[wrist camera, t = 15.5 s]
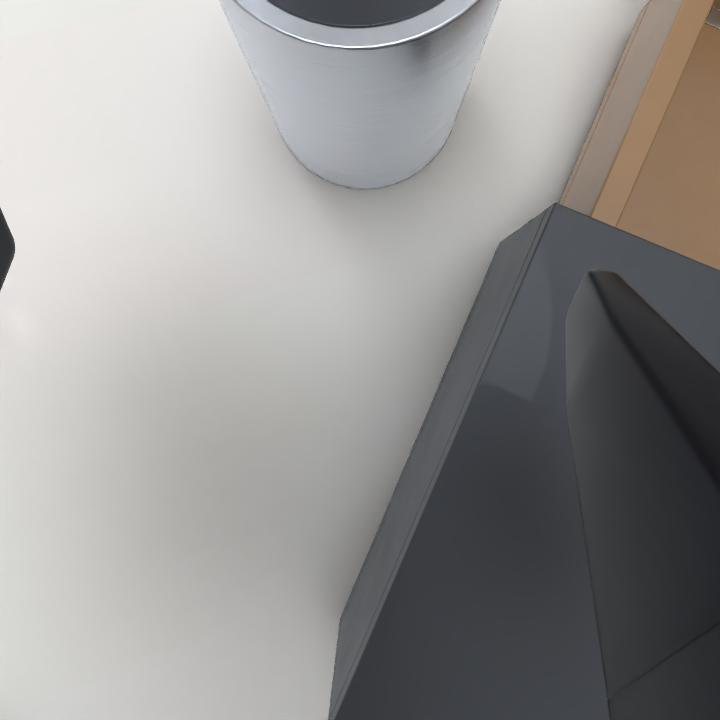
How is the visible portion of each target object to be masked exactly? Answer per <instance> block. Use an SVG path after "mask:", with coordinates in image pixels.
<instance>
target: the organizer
mask: <svg viewBox="0 0 720 720" xmlns="http://www.w3.org/2000/svg"><path fill="white" fill-rule="evenodd" d="M589 270H601V271H609V272H615V273H617V274H618V275H619V276H620V277H621V278H622V279H623V280H624V281H625V282H626V283H627V284H629V285H630V286H631V287H632V288H633V289H634V290H635V291H636V292H637V293H638V294H639V295H640V296H641V297H642V298H643V299H644V300H645V301H646V302H647V303H648V304H649V305H650V306H651V307H652V308H653V309H654V310H655V311H657V312H658V313H659V314H660V315H661V316H662V317H663V318H664V319H665V320H666V321H667V322H668V323H669V324H670V325H671V326H672V327H673V328H674V329H675V330H676V331H677V332H678V333H679V334H680V335H681V336H682V337H683V338H685V339H686V340H687V341H688V342H689V343H690V344H691V345H692V346H693V347H694V348H695V349H696V350H697V351H698V352H699V353H700V354H701V355H702V356H703V357H704V358H705V359H706V360H707V361H708V362H709V363H710V364H711V365H712V366H714V367H715V368H716V369H717V370H718V371H719V372H720V270H717V269H715V268H713V267H710V266H708V265H705V264H703V263H701V262H698V261H696V260H693V259H691V258H689V257H686V256H684V255H681V254H679V253H676V252H674V251H672V250H669V249H667V248H664V247H662V246H660V245H657V244H655V243H652V242H650V241H648V240H645V239H643V238H640V237H638V236H635V235H633V234H631V233H628V232H626V231H623V230H621V229H619V228H616V227H614V226H611V225H609V224H606V223H604V222H602V221H599V220H597V219H594V218H592V217H590V216H587V215H585V214H582V213H580V212H578V211H575V210H573V209H570V208H568V207H565V206H563V205H561V204H558V203H555V204H553V205H552V206H551V207H549V208H547V209H546V210H545V211H543V212H542V213H541V214H539V215H538V216H536V217H535V218H534V219H532V220H531V221H529V222H528V223H527V224H525V225H524V226H523V227H521V228H520V229H518V230H517V231H516V232H514V233H513V234H512V235H510V236H509V237H507V238H506V239H505V240H503V241H502V242H500V243H499V245H498V248H497V250H496V252H495V255H494V257H493V259H492V262H491V264H490V267H489V269H488V271H487V274H486V276H485V278H484V281H483V283H482V285H481V288H480V290H479V293H478V295H477V297H476V300H475V302H474V304H473V307H472V309H471V311H470V314H469V316H468V318H467V321H466V323H465V326H464V328H463V330H462V333H461V335H460V337H459V340H458V342H457V344H456V347H455V349H454V351H453V354H452V356H451V359H450V361H449V363H448V366H447V368H446V370H445V373H444V375H443V377H442V380H441V382H440V385H439V387H438V389H437V392H436V394H435V396H434V399H433V401H432V403H431V406H430V408H429V410H428V413H427V415H426V418H425V420H424V422H423V425H422V427H421V429H420V432H419V434H418V436H417V439H416V441H415V444H414V446H413V448H412V451H411V453H410V455H409V458H408V460H407V462H406V465H405V467H404V469H403V472H402V474H401V477H400V479H399V481H398V484H397V486H396V488H395V491H394V493H393V495H392V498H391V500H390V502H389V505H388V507H387V510H386V512H385V514H384V517H383V519H382V521H381V524H380V526H379V528H378V531H377V533H376V536H375V538H374V540H373V543H372V545H371V547H370V550H369V552H368V554H367V557H366V559H365V561H364V564H363V566H362V569H361V571H360V573H359V576H358V578H357V580H356V583H355V585H354V587H353V590H352V592H351V595H350V597H349V599H348V602H347V604H346V606H345V609H344V611H343V613H342V616H341V618H340V624H339V633H338V641H337V650H336V658H335V666H334V675H333V683H332V692H331V700H330V709H329V717H328V720H610V717H609V710H608V703H607V701H608V699H610V698H608V697H607V693H606V686H605V679H604V672H603V665H602V658H601V651H600V644H599V637H598V629H597V622H596V615H595V608H594V601H593V594H592V587H591V580H590V573H589V566H588V559H587V552H586V545H585V537H584V530H583V523H582V516H581V509H580V502H579V495H578V488H577V481H576V474H575V467H574V460H573V453H572V445H571V438H570V431H569V424H568V416H567V405H566V328H565V325H566V316H567V312H568V309H569V307H570V304H571V302H572V300H573V298H574V295H575V293H576V291H577V289H578V286H579V284H580V282H581V280H582V278H583V276H584V274H585V273H586V272H587V271H589Z"/></svg>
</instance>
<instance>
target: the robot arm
mask: <svg viewBox="0 0 720 720" xmlns="http://www.w3.org/2000/svg"><path fill="white" fill-rule="evenodd" d="M14 254H15V243H14V239H13V236H12V234H11V232H10V229H9V227H8V225H7V222H6V220H5V218H4V215H3V213H2V211H1V208H0V291H1V288H2V285H3V283H4V280H5V278H6V275H7V273H8V270H9V268H10V265H11V263H12V260H13V258H14ZM565 328H566V405H567V416H568V424H569V431H570V438H571V445H572V453H573V460H574V467H575V474H576V481H577V488H578V495H579V502H580V509H581V516H582V523H583V530H584V537H585V545H586V552H587V559H588V566H589V573H590V580H591V587H592V594H593V601H594V608H595V615H596V622H597V629H598V637H599V644H600V651H601V658H602V665H603V672H604V679H605V686H606V693H607V697H608V698H610V699H608V701H607V703H608V710H609V717H610V720H720V372H719V371H718V370H717V369H716V368H715V367H714V366H712V365H711V364H710V363H709V362H708V361H707V360H706V359H705V358H704V357H703V356H702V355H701V354H700V353H699V352H698V351H697V350H696V349H695V348H694V347H693V346H692V345H691V344H690V343H689V342H688V341H687V340H686V339H685V338H683V337H682V336H681V335H680V334H679V333H678V332H677V331H676V330H675V329H674V328H673V327H672V326H671V325H670V324H669V323H668V322H667V321H666V320H665V319H664V318H663V317H662V316H661V315H660V314H659V313H658V312H657V311H655V310H654V309H653V308H652V307H651V306H650V305H649V304H648V303H647V302H646V301H645V300H644V299H643V298H642V297H641V296H640V295H639V294H638V293H637V292H636V291H635V290H634V289H633V288H632V287H631V286H630V285H629V284H627V283H626V282H625V281H624V280H623V279H622V278H621V277H620V276H619V275H618V274H617V273H615V272H609V271H601V270H589V271H587V272H586V273H585V274H584V276H583V278H582V280H581V282H580V284H579V286H578V289H577V291H576V293H575V295H574V298H573V300H572V302H571V304H570V307H569V309H568V312H567V316H566V325H565Z"/></svg>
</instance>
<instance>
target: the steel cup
mask: <svg viewBox="0 0 720 720" xmlns="http://www.w3.org/2000/svg"><path fill="white" fill-rule="evenodd" d="M500 1H501V0H219V2H220V4H221V6H222V8H223V11H224V13H225V15H226V17H227V19H228V21H229V24H230V26H231V28H232V30H233V32H234V34H235V36H236V39H237V41H238V43H239V45H240V47H241V49H242V51H243V54H244V56H245V58H246V60H247V62H248V64H249V67H250V69H251V71H252V73H253V75H254V77H255V79H256V82H257V84H258V86H259V88H260V90H261V92H262V95H263V97H264V99H265V101H266V103H267V105H268V107H269V110H270V112H271V114H272V116H273V118H274V120H275V122H276V125H277V127H278V129H279V131H280V133H281V135H282V138H283V140H284V141H285V143H286V145H287V146H288V148H289V149H290V151H291V152H292V153H293V155H294V156H295V157H296V158H297V159H298V160H299V161H300V162H301V163H302V164H303V165H304V166H305V167H306V168H307V169H309V170H310V171H311V172H313V173H314V174H315V175H317V176H319V177H321V178H323V179H325V180H326V181H329V182H331V183H334V184H337V185H340V186H344V187H349V188H357V189H374V188H380V187H386V186H389V185H393V184H396V183H398V182H401V181H403V180H405V179H407V178H409V177H411V176H412V175H414V174H416V173H417V172H419V171H420V170H421V169H422V168H424V167H425V166H426V165H427V164H428V163H429V162H430V161H431V160H432V159H433V158H434V157H435V156H436V155H437V154H438V152H439V151H440V150H441V148H442V147H443V145H444V144H445V142H446V140H447V138H448V136H449V134H450V132H451V130H452V127H453V124H454V122H455V119H456V116H457V114H458V111H459V109H460V106H461V103H462V101H463V98H464V95H465V93H466V90H467V88H468V85H469V82H470V80H471V77H472V74H473V72H474V69H475V67H476V64H477V61H478V59H479V56H480V53H481V51H482V48H483V45H484V43H485V40H486V38H487V35H488V32H489V30H490V27H491V24H492V22H493V19H494V17H495V14H496V11H497V9H498V6H499V3H500Z"/></svg>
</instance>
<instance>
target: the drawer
mask: <svg viewBox="0 0 720 720" xmlns="http://www.w3.org/2000/svg"><path fill="white" fill-rule="evenodd" d="M712 6H713V7H715V8H717V9H720V0H650V2H649V3H648V4H647V5H646V6H645V8H644V9H643V10H642V11H641V12H640V14H639V16H638V19H637V21H636V23H635V26H634V28H633V31H632V33H631V35H630V38H629V40H628V42H627V45H626V47H625V49H624V52H623V54H622V56H621V59H620V61H619V63H618V66H617V68H616V70H615V73H614V75H613V77H612V80H611V82H610V84H609V87H608V89H607V91H606V94H605V96H604V98H603V101H602V103H601V105H600V108H599V110H598V112H597V115H596V117H595V119H594V122H593V124H592V126H591V129H590V131H589V133H588V136H587V138H586V140H585V143H584V145H583V147H582V150H581V152H580V155H579V157H578V159H577V162H576V164H575V166H574V169H573V171H572V173H571V176H570V178H569V180H568V183H567V185H566V187H565V190H564V192H563V194H562V197H561V199H560V201H559V204H561V205H563V206H565V207H568V208H570V209H573V210H575V211H578V212H580V213H582V214H585V215H587V216H590V217H592V218H594V219H597V220H599V221H602V222H604V223H606V224H609V225H611V226H614V227H616V228H619V229H621V230H623V231H626V232H628V233H631V234H633V235H635V236H638V237H640V238H643V239H645V240H648V241H650V242H652V243H655V244H657V245H660V246H662V247H664V248H667V249H669V250H672V251H674V252H676V253H679V254H681V255H684V256H686V257H689V258H691V259H693V260H696V261H698V262H701V263H703V264H705V265H708V266H710V267H713V268H715V269H717V270H720V29H719V28H716V27H714V26H711V25H709V24H706V23H705V22H706V19H707V17H708V15H709V13H710V10H711V8H712Z"/></svg>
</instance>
